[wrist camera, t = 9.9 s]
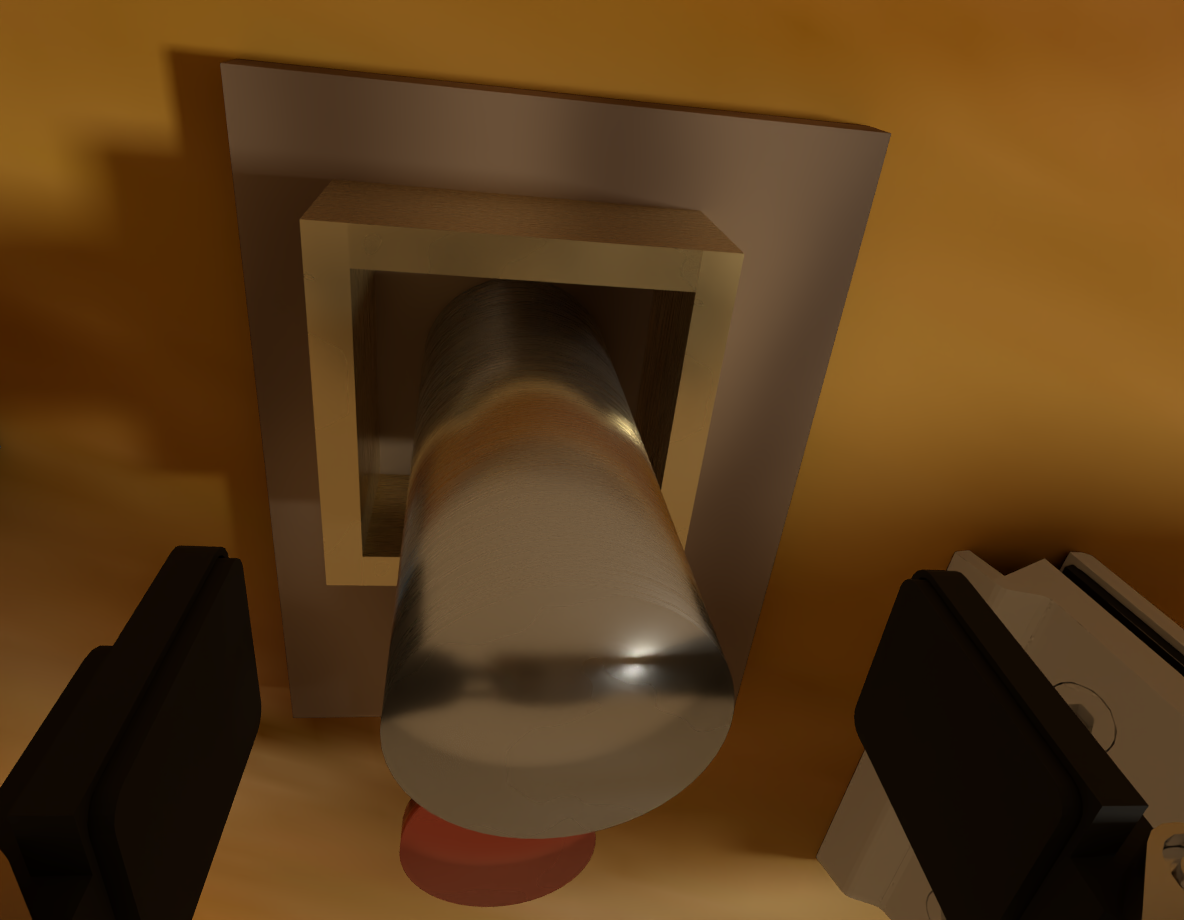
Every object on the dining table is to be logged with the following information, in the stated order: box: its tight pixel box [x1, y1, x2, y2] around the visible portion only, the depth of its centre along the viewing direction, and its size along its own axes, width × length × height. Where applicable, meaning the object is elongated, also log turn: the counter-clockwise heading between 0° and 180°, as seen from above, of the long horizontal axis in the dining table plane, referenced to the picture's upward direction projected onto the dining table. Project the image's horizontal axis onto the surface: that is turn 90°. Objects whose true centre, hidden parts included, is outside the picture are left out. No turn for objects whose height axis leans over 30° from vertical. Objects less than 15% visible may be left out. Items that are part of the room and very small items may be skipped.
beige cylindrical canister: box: [380, 279, 735, 839], centre depth 15 cm, size 4×4×11 cm
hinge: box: [816, 550, 1184, 920], centre depth 27 cm, size 17×5×10 cm, turn 171°
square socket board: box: [300, 179, 744, 907], centre depth 18 cm, size 8×16×7 cm, turn 174°
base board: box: [220, 59, 891, 718], centre depth 21 cm, size 14×18×1 cm
